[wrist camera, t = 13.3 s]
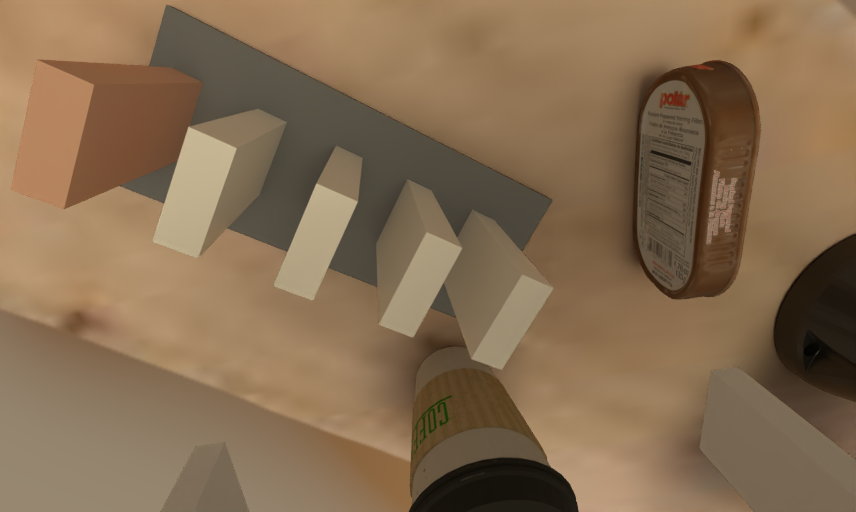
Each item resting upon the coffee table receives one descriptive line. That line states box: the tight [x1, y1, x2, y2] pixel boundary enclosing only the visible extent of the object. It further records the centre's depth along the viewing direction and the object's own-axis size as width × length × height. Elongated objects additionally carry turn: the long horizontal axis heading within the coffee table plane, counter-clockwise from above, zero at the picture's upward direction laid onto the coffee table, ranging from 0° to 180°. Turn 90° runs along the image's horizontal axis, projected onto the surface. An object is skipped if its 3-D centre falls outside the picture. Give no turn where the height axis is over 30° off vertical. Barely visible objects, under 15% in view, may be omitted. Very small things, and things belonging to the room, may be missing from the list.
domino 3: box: [274, 146, 363, 301], centre depth 24 cm, size 2×5×11 cm, turn 153°
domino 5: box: [444, 210, 554, 370], centre depth 26 cm, size 2×5×11 cm, turn 153°
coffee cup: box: [409, 346, 578, 512], centre depth 30 cm, size 10×10×15 cm
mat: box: [120, 5, 552, 318], centre depth 30 cm, size 26×11×1 cm, turn 63°
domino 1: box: [11, 60, 203, 209], centre depth 21 cm, size 2×5×11 cm, turn 154°
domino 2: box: [152, 109, 287, 258], centre depth 22 cm, size 2×5×11 cm, turn 153°
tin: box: [634, 60, 761, 299], centre depth 28 cm, size 15×3×8 cm, turn 8°
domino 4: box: [376, 179, 462, 337], centre depth 25 cm, size 2×5×11 cm, turn 153°
